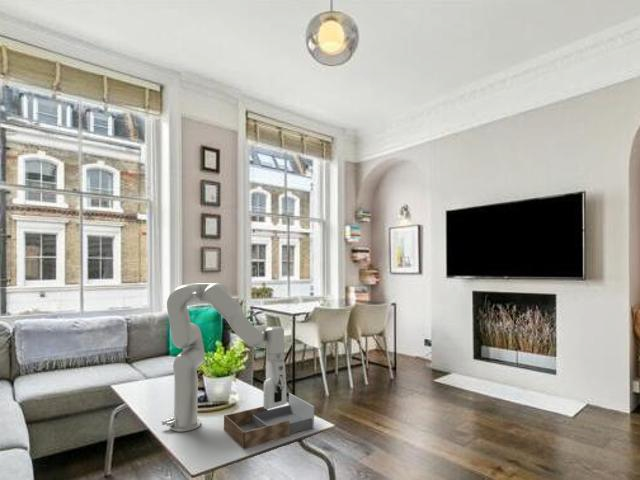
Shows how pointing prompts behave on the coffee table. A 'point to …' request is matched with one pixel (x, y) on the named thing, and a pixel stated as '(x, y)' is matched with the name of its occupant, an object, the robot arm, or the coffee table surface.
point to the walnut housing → (256, 435)
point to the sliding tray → (287, 415)
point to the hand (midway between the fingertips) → (274, 399)
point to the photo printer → (272, 394)
